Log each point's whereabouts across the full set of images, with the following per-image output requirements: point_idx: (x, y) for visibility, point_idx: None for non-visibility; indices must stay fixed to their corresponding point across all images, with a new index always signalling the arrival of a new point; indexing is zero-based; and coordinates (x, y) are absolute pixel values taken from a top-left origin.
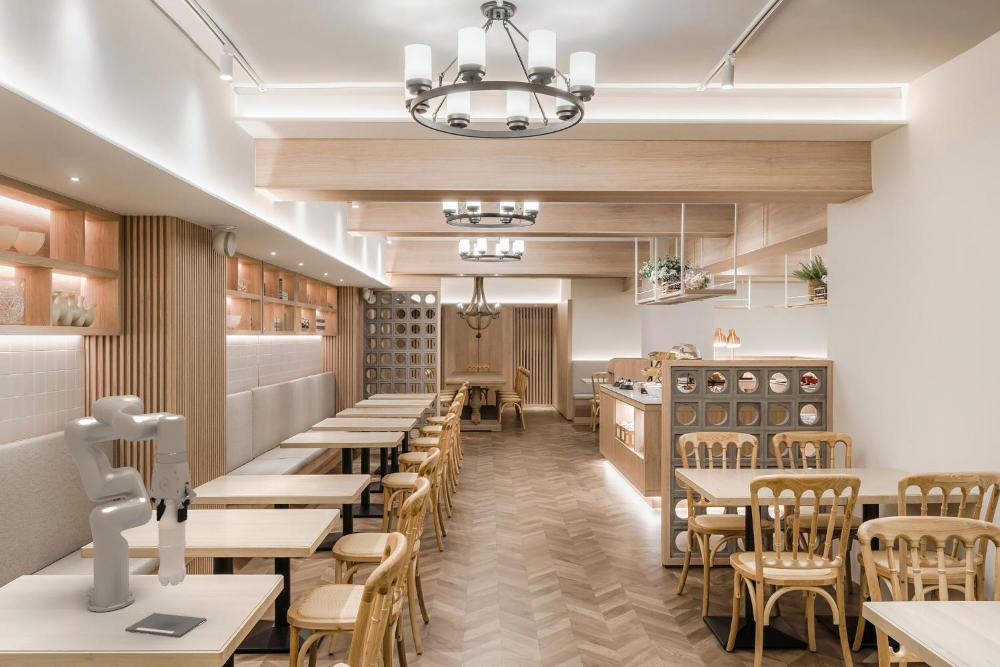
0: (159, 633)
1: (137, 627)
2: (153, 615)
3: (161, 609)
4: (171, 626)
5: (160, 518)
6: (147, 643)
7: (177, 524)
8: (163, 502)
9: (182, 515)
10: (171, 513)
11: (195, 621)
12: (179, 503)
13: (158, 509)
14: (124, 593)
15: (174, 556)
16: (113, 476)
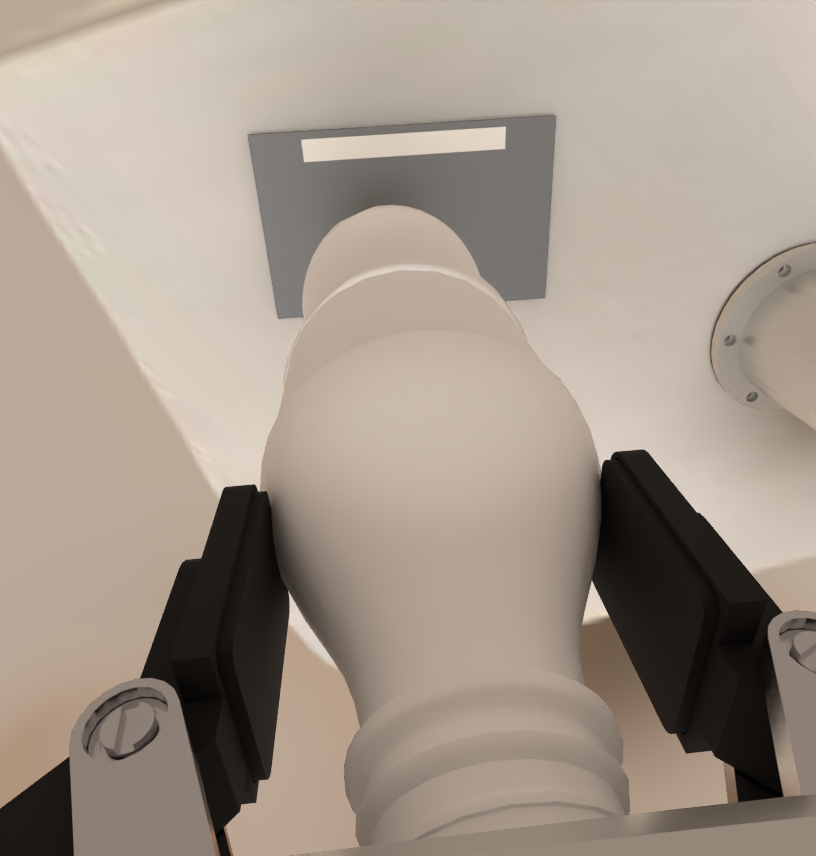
0: (364, 128)
1: (510, 148)
2: (528, 275)
3: (549, 347)
4: (363, 205)
5: (611, 498)
6: (347, 27)
7: (271, 465)
8: (742, 776)
9: (190, 591)
10: (375, 560)
11: (300, 280)
12: (152, 793)
13: (699, 577)
14: (761, 353)
15: (322, 296)
16: None
